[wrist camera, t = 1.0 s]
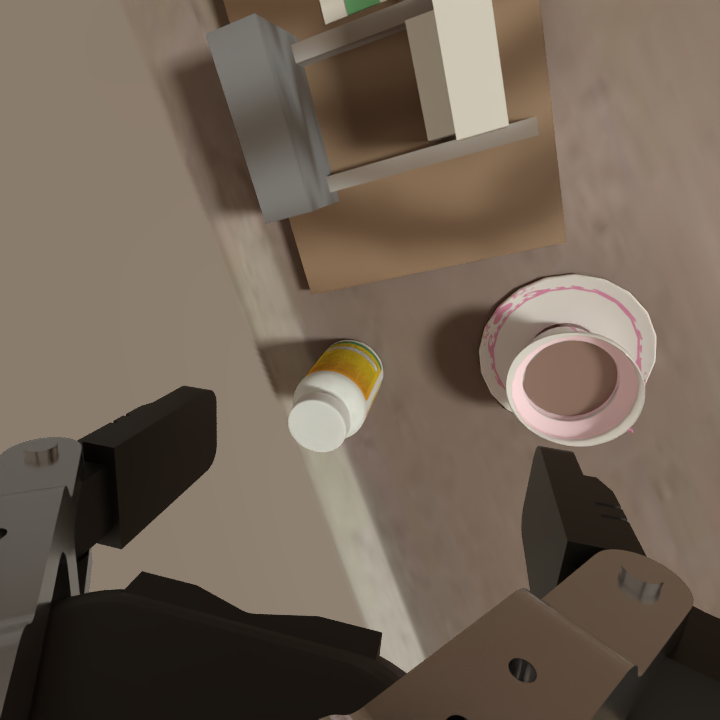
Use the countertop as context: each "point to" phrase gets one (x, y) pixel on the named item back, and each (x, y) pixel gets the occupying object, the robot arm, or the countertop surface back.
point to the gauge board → (384, 139)
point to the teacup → (570, 358)
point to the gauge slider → (458, 69)
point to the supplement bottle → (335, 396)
